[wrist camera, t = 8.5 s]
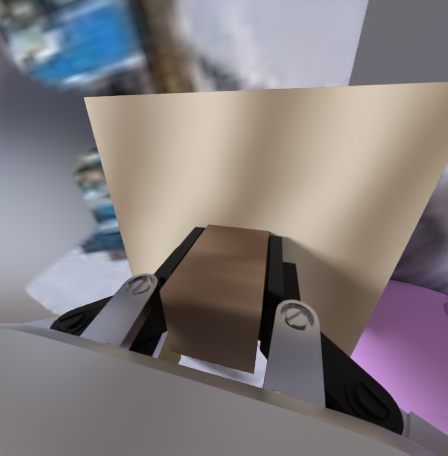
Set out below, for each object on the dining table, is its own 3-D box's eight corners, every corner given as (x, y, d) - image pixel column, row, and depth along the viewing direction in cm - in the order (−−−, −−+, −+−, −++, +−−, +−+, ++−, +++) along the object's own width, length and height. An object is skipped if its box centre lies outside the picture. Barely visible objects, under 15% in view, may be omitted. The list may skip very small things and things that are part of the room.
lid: (467, 85, 7) (1085, -59, 2) (343, 352, 13) (382, 487, 8) (97, 99, 10) (-94, 68, 5) (149, 309, 17) (93, 387, 12)
